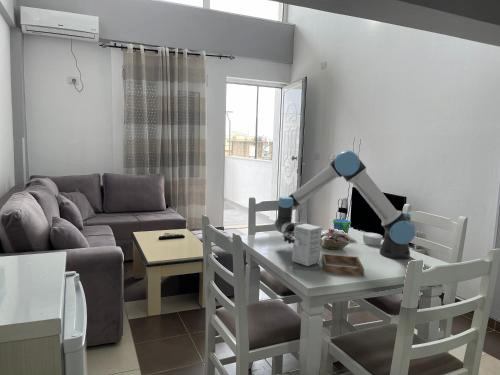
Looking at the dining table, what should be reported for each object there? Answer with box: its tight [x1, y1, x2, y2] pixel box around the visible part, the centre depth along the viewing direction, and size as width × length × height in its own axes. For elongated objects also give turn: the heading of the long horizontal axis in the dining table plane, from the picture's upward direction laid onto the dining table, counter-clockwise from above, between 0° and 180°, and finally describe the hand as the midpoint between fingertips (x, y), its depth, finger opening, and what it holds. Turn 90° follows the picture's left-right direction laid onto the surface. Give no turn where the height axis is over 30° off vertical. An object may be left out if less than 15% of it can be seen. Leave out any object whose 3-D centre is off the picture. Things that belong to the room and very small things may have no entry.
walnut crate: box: [321, 253, 365, 277], centre depth 174 cm, size 17×17×4 cm
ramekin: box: [362, 232, 384, 246], centre depth 221 cm, size 11×11×5 cm
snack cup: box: [332, 218, 352, 235], centre depth 232 cm, size 16×10×10 cm
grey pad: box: [291, 261, 320, 272], centre depth 176 cm, size 12×12×1 cm
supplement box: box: [291, 223, 323, 266], centre depth 174 cm, size 10×9×17 cm
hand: (310, 243), depth 171 cm, fingers closed on supplement box, 12 cm apart
